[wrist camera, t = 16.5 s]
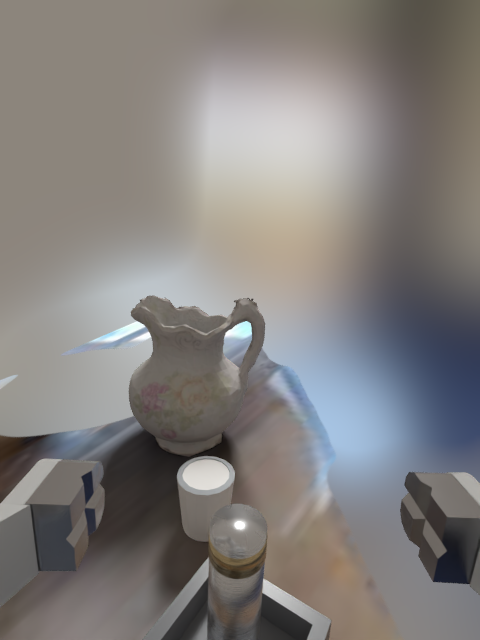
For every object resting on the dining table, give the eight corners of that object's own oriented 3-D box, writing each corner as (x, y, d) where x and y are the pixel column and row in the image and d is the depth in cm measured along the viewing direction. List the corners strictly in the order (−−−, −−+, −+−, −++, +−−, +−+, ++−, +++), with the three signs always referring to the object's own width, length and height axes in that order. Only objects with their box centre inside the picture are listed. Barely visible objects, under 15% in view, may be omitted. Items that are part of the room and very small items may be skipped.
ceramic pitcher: (242, 410, 72) (244, 290, 68) (274, 462, 53) (279, 302, 49) (133, 420, 67) (128, 291, 62) (127, 482, 48) (119, 304, 44)
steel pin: (195, 678, 27) (196, 532, 23) (224, 629, 30) (230, 495, 27) (239, 717, 25) (248, 563, 21) (266, 660, 28) (277, 519, 25)
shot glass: (190, 556, 38) (190, 502, 36) (169, 513, 44) (168, 464, 42) (243, 531, 41) (246, 481, 40) (217, 494, 47) (218, 449, 45)
